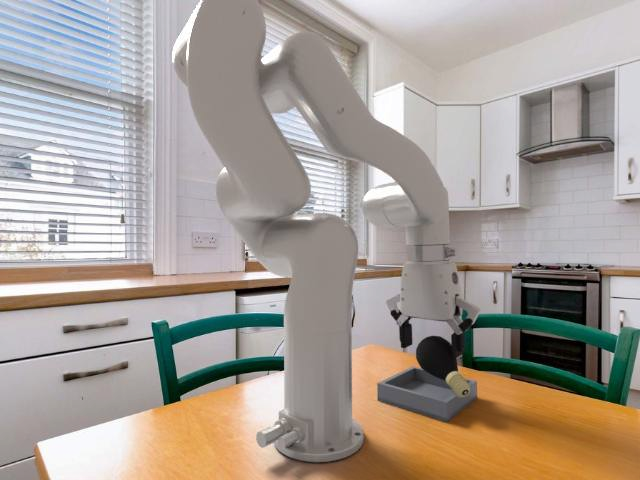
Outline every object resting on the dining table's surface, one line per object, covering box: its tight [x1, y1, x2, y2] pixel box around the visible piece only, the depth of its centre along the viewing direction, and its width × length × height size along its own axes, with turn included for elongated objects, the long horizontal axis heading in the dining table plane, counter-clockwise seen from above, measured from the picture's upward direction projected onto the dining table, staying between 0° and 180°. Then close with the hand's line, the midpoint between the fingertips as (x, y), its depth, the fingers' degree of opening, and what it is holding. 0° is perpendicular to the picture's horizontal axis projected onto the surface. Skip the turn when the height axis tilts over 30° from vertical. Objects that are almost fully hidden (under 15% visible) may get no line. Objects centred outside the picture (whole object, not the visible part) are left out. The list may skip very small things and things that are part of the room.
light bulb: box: [415, 335, 470, 397], centre depth 65 cm, size 7×7×12 cm
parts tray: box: [376, 365, 478, 423], centre depth 67 cm, size 13×13×3 cm
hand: (431, 350), depth 68 cm, fingers open, 9 cm apart
